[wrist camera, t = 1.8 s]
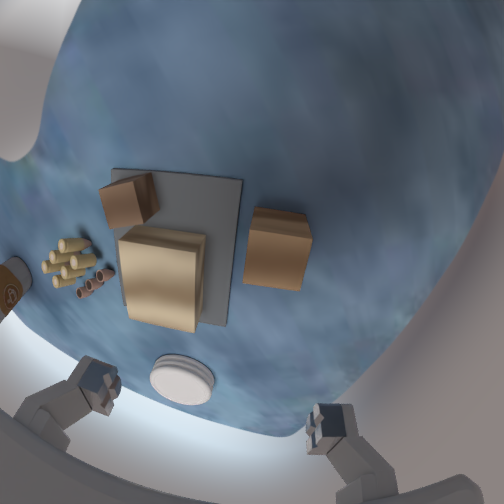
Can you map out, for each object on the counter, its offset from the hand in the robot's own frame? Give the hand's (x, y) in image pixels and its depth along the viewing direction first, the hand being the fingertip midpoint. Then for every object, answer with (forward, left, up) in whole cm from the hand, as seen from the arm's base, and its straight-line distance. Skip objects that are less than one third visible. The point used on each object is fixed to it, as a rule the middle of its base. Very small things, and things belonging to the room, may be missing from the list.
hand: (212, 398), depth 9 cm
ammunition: (+9, -21, -20) cm, 31 cm away
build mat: (+5, -8, -20) cm, 22 cm away
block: (-1, -12, -19) cm, 23 cm away
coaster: (+27, -7, -20) cm, 35 cm away
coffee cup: (+14, -38, -20) cm, 46 cm away
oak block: (+1, +3, -20) cm, 20 cm away
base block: (+7, -8, -19) cm, 22 cm away
